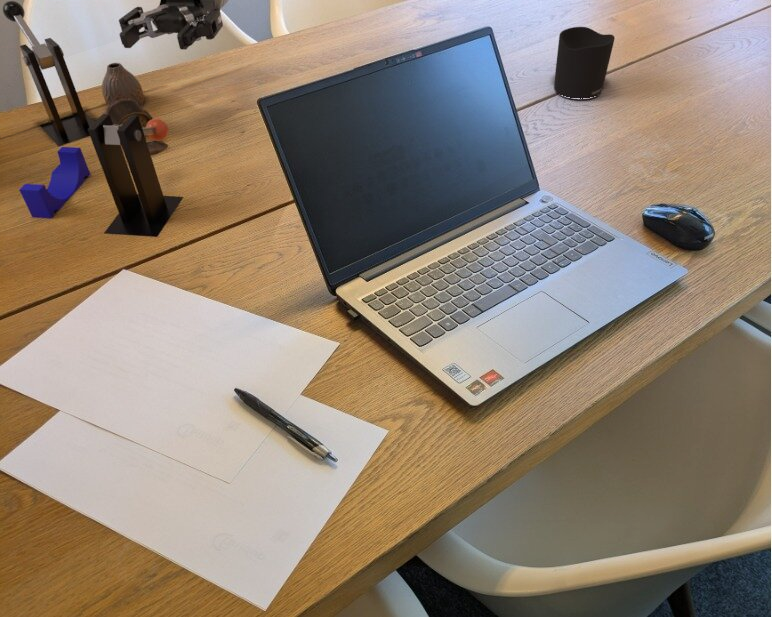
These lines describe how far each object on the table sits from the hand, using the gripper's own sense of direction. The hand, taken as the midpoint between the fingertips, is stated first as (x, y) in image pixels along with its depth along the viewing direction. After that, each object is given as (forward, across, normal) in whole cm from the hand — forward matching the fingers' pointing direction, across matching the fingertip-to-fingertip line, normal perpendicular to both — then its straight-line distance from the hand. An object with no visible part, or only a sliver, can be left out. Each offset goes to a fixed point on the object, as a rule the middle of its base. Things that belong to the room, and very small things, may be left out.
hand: (152, 42), depth 94 cm
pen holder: (-33, +64, +21) cm, 75 cm away
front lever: (+11, 0, +10) cm, 15 cm away
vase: (-18, -18, +20) cm, 33 cm away
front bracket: (+16, 0, +20) cm, 25 cm away
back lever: (-12, -29, +5) cm, 31 cm away
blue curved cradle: (+12, -16, +20) cm, 28 cm away
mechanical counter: (-5, -11, +20) cm, 24 cm away
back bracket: (-8, -24, +20) cm, 33 cm away
